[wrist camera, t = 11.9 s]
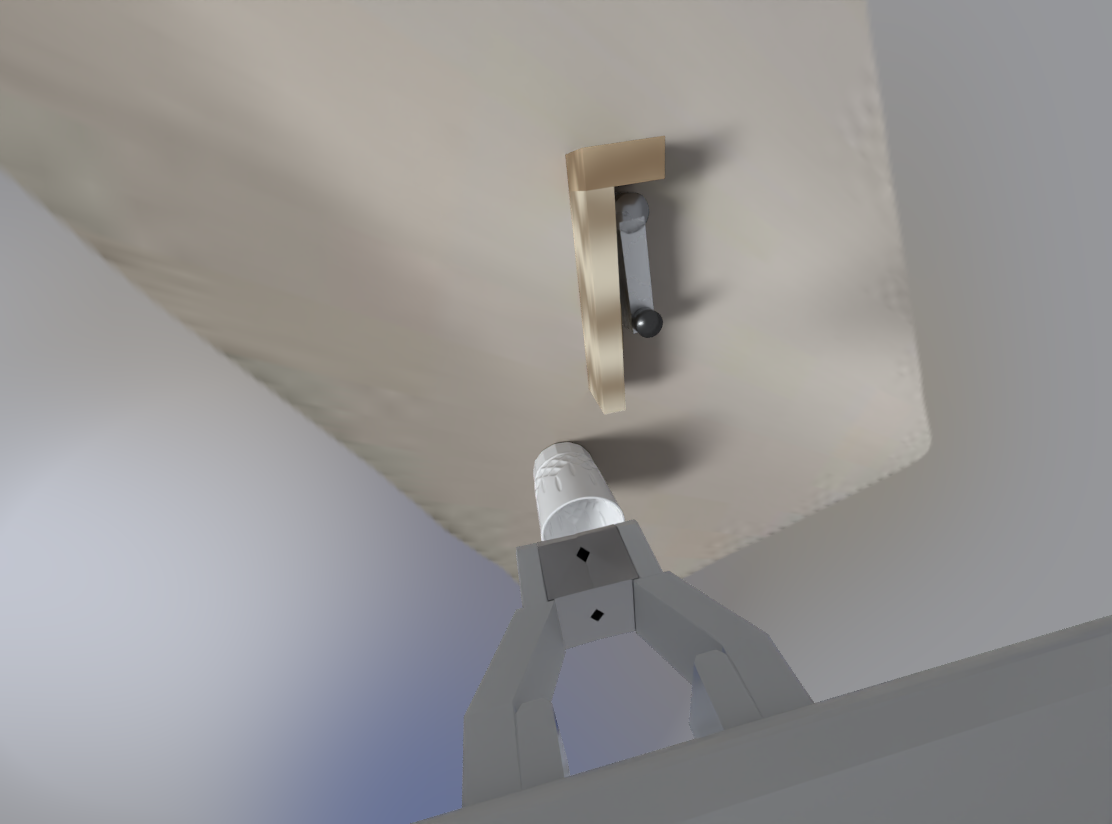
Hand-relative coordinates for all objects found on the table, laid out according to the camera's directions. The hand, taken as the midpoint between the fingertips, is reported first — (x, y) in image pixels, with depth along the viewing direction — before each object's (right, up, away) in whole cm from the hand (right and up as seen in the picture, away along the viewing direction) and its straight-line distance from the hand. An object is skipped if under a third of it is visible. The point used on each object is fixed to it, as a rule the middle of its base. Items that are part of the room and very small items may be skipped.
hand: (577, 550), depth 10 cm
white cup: (0, -3, +36) cm, 36 cm away
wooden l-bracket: (+4, +15, +26) cm, 31 cm away
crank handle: (+5, +17, +25) cm, 31 cm away
